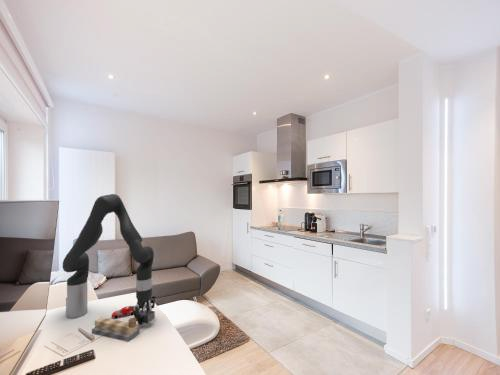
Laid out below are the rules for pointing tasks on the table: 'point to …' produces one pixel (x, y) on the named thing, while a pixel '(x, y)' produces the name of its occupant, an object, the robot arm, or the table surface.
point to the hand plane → (116, 328)
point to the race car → (123, 312)
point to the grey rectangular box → (147, 316)
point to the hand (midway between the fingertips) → (144, 321)
